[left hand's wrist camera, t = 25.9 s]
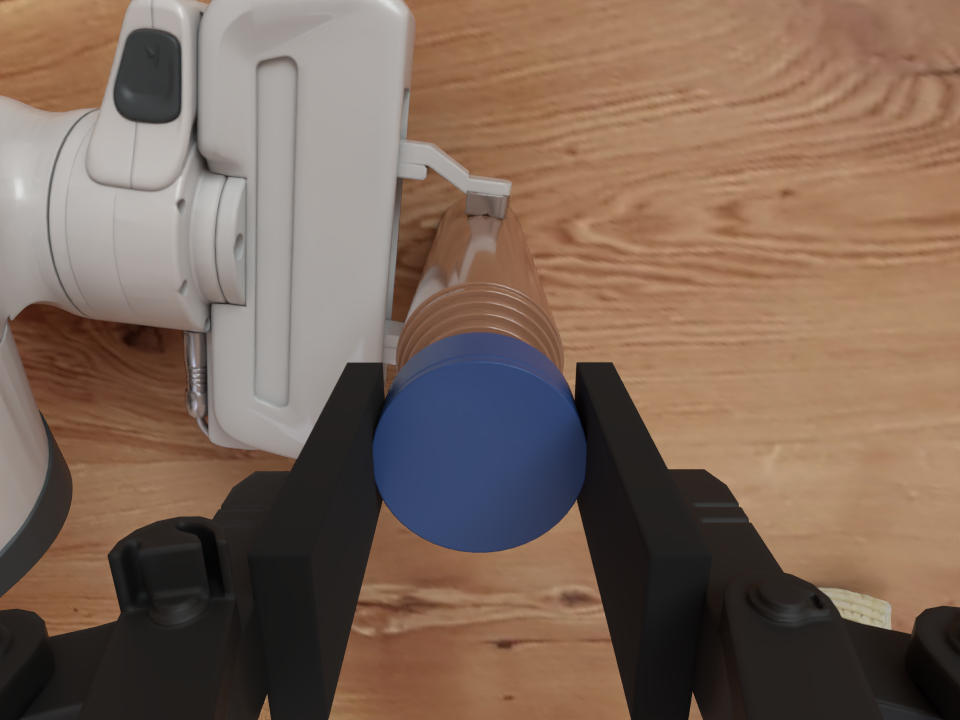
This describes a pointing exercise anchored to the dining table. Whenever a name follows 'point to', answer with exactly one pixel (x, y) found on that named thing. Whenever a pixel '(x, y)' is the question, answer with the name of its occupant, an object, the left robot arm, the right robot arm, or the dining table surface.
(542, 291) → the bottle
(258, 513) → the left robot arm
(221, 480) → the dining table surface
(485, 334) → the cap
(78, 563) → the dining table surface
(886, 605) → the seashell
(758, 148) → the dining table surface
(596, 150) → the dining table surface
